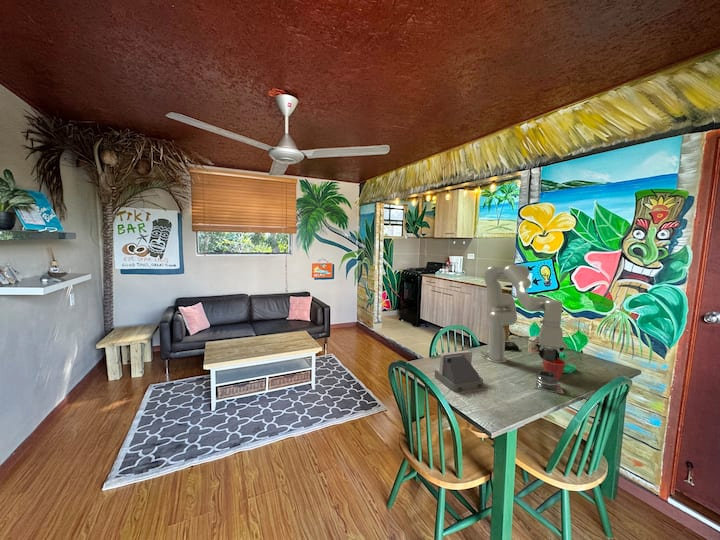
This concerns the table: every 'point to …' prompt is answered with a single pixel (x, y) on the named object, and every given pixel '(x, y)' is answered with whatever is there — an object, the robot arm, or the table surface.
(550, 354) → the dark grey cube
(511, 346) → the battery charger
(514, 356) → the table surface
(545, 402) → the table surface
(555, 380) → the lens barrel
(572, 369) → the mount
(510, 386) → the table surface
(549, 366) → the flower pot
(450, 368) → the grey sloped stand
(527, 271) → the robot arm
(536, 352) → the teacup with lid
